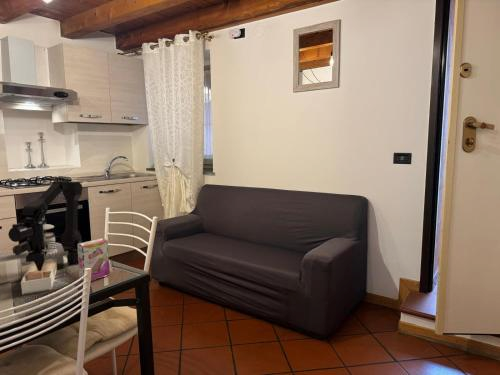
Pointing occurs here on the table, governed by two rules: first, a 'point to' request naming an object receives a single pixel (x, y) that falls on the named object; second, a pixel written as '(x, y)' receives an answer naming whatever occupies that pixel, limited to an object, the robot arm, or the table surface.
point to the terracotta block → (35, 275)
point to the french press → (49, 239)
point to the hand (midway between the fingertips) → (39, 270)
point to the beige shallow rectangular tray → (45, 268)
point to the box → (37, 284)
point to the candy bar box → (94, 257)
